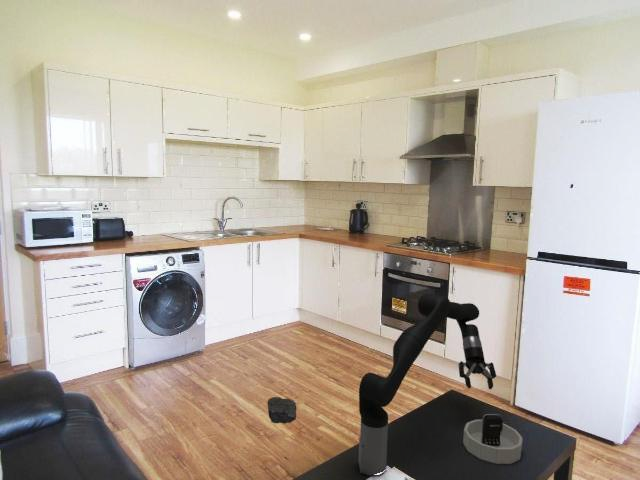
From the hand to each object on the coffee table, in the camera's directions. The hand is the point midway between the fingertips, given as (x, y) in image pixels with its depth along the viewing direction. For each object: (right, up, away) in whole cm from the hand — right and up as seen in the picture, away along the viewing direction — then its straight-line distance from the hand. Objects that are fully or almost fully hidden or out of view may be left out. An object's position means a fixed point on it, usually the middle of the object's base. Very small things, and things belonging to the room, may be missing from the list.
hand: (480, 388), depth 177 cm
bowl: (+1, -19, -10) cm, 21 cm away
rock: (-80, -15, +9) cm, 82 cm away
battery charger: (+1, -18, -9) cm, 21 cm away
